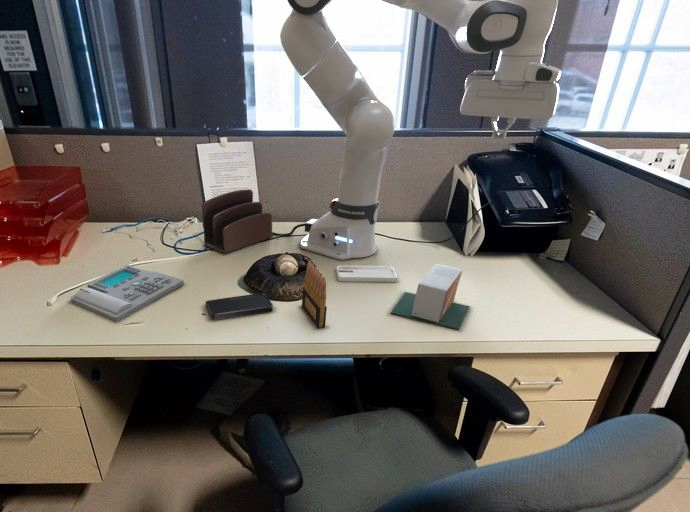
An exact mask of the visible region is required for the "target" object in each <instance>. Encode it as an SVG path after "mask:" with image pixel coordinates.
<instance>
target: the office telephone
mask: <svg viewBox="0 0 690 512" xmlns="http://www.w3.org/2000/svg"><path fill="white" fill-rule="evenodd" d="M184 284H185V283H184V279H181V278H178V277H175V276H173V275H168V274H165V273H161V272H158V271H154V270H150V271H149V270H145V269H141V268H138V267H134V266H131V265H130V264H125V265H124V266H121V267H119V268H116V269H115V270H112V271H110V272H108V273H106V274H104V275H102V276H100V277H97V278H95V279H93V280H91V281H90V282H88V283H86V285H87V287H84V288H80V289H79V290H78V291H76V292H75V293H74V294H72V295H71V296H70V300H71V302H72V303H74V304H75V305H78V306H80V307H82V308H85V309H86V310H88V311H90V312H93V313H95V314H98V315H100V316H102V317H105V318H107V319H109V320H111V321H114V322H115V323H117V322H120V321H121V320H123V319H125V318H126V317H128V316H130V315H132V314H133V313H135V312H137V311H139V310H141V309H142V308H144V307H146V306H147V305H149V304H151V303H153V302H154V301H156V300H158V299H159V298H161V297H163V296H165V295H166V294H168V293H170V292H172V291H174V290H175V289H178V288H180V287H181V286H183V285H184Z"/></svg>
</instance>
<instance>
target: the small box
mask: <svg viewBox="0 0 690 512" xmlns="http://www.w3.org/2000/svg"><path fill="white" fill-rule="evenodd" d="M462 273H463V269H461V268H457V267H452V266H448V265H444V264H439V263H434V265H433V267H432V268H431V269H430V270H429V271H428V272H427V273H426V274H425V276H424V277H423V278H422V279H421V280H420V281H419V283H418V285H417V288H416V291H415V294H416V296H415V299H414V304H413V309H412V314H411V315H412V316H416V317H419V318H423V319H426V320H430V321H434V322H437V323H438V322H439V321H440V320H441V318H442V317H443V315H444V314H445V312H446V311H447V310H448V308H449V307H450V305H451V304H452V303H454V301H455V298H456V294H457V290H458V287H459V283H460V281H461V276H462Z"/></svg>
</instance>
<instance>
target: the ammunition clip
mask: <svg viewBox="0 0 690 512" xmlns="http://www.w3.org/2000/svg"><path fill="white" fill-rule="evenodd" d="M314 264H315V263H313V262H312V261H311V260H310V259H309V260H308V262H307V264H306V272H305V276H304V287H303V288H302V298H301V309H302V310H303V311H304V312H305V313H306V315H307V317H308V318H309V320H310V321H311V322H312V324H313V325H314V327H315V328H316V329H324V328H326V322H327V321H326V320H327V308H328V306H327V305H326V304H327V278H326V276H325V275H323V273H322V272H321V271H320V270H319V269H317V266H315V265H314Z"/></svg>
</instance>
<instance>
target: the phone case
mask: <svg viewBox="0 0 690 512" xmlns="http://www.w3.org/2000/svg"><path fill="white" fill-rule="evenodd" d="M335 271H336V276H337V281H339V282H358V283H359V282H365V283H367V282H368V283H370V282H371V283H374V282H376V283H377V282H378V283H396V282H397V281H398V275H397V273H396V271H395V268H394V266H392V265H336V268H335ZM341 271H342V272H341Z"/></svg>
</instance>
